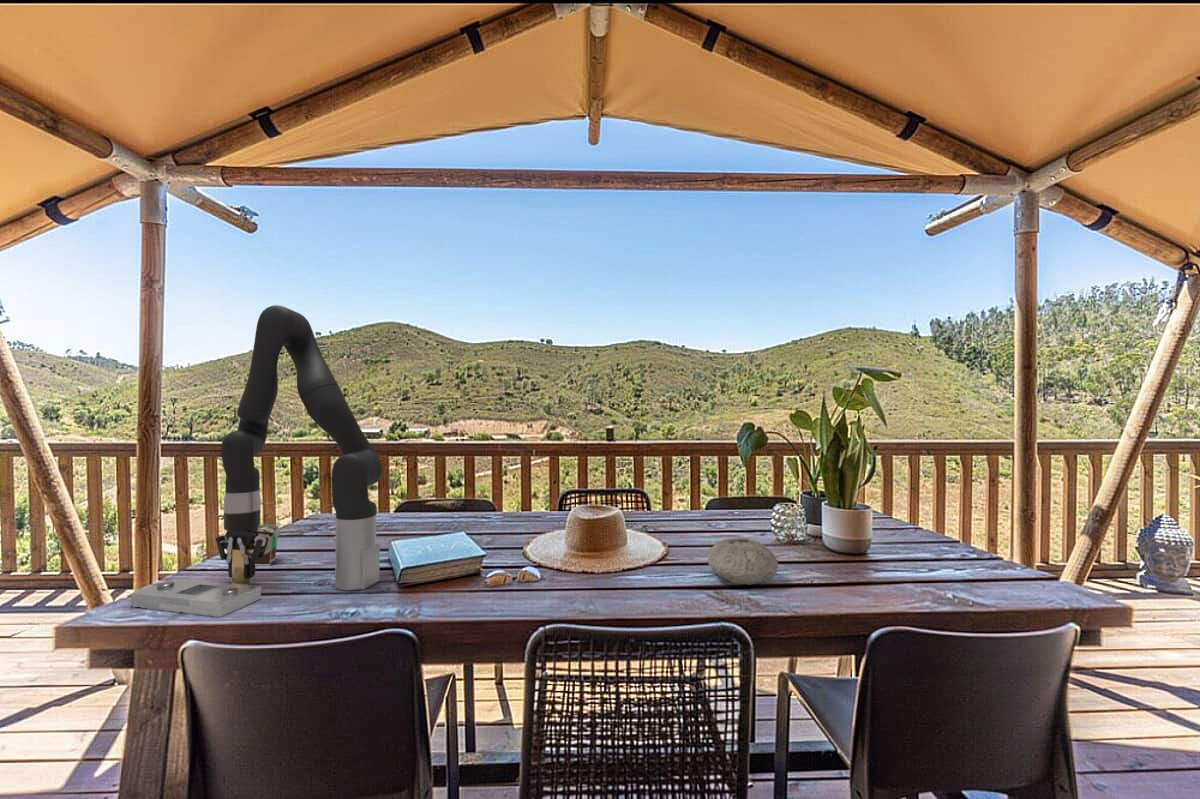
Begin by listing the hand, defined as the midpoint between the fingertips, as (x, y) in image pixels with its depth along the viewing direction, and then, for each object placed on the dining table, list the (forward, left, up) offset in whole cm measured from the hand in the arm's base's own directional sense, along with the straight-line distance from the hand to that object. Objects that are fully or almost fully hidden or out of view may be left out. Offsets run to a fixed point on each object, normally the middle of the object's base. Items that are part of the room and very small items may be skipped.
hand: (241, 576), depth 125 cm
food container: (+10, -16, -2) cm, 19 cm away
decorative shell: (-124, -31, -2) cm, 128 cm away
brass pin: (0, 0, -2) cm, 2 cm away
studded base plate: (-1, +12, -2) cm, 12 cm away
